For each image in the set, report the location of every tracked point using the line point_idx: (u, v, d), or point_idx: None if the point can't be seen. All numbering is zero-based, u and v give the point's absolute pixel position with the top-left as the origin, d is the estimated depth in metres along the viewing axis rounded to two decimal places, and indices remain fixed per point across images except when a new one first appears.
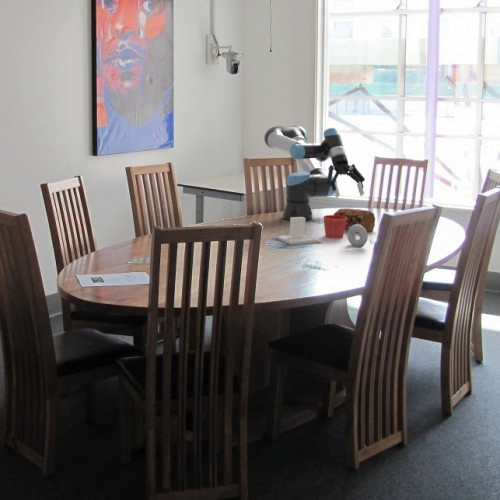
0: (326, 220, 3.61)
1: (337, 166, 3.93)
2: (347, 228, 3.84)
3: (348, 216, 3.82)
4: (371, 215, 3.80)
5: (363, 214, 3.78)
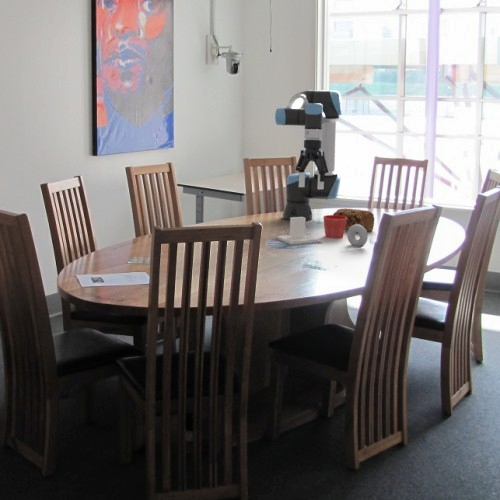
0: (326, 220, 3.61)
1: (306, 152, 3.54)
2: (346, 228, 3.84)
3: (347, 216, 3.82)
4: (370, 215, 3.80)
5: (362, 214, 3.77)
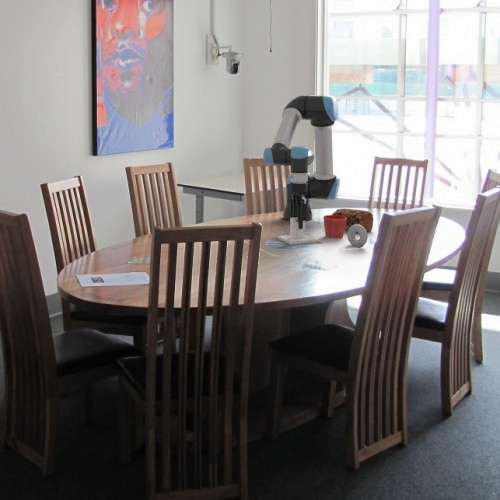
0: (326, 220, 3.61)
1: (293, 194, 3.54)
2: (345, 228, 3.83)
3: (346, 216, 3.81)
4: (369, 215, 3.80)
5: (361, 214, 3.77)
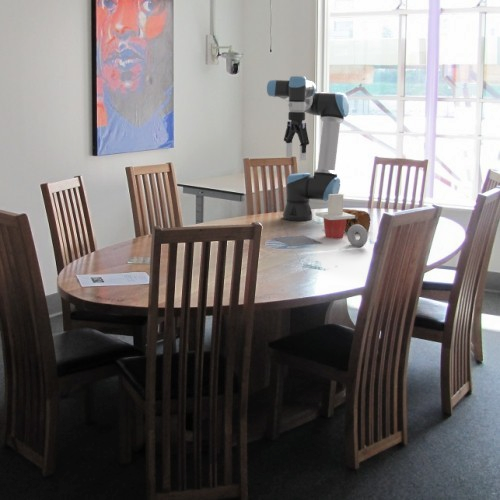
0: (326, 220, 3.61)
1: (291, 123, 3.66)
2: None
3: None
4: (366, 215, 3.79)
5: (358, 214, 3.77)
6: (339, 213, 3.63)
